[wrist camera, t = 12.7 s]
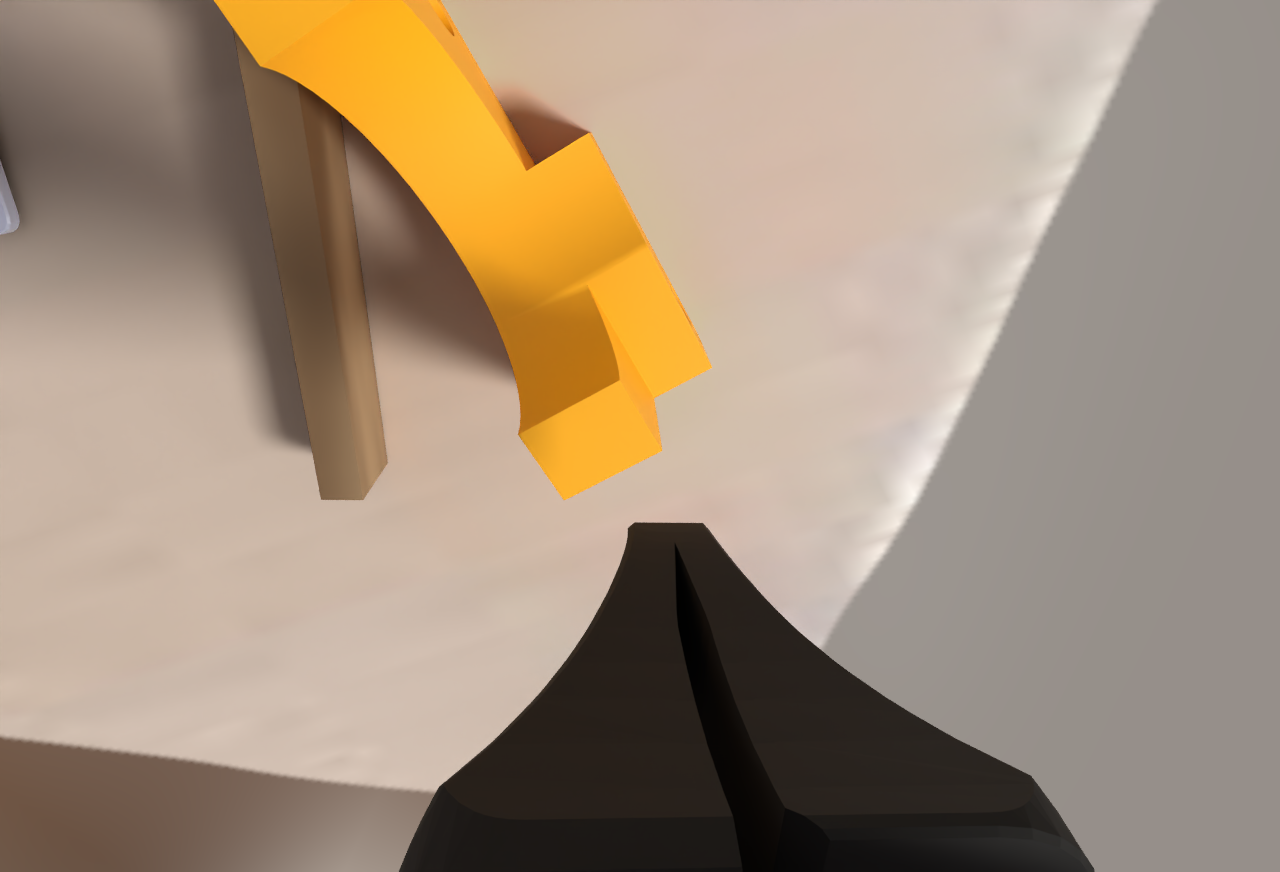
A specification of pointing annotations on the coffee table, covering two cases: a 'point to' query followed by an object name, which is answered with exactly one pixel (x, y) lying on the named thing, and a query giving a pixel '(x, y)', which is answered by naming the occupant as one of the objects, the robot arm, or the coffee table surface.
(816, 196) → the coffee table surface
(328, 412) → the rail
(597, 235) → the pipe clamp
